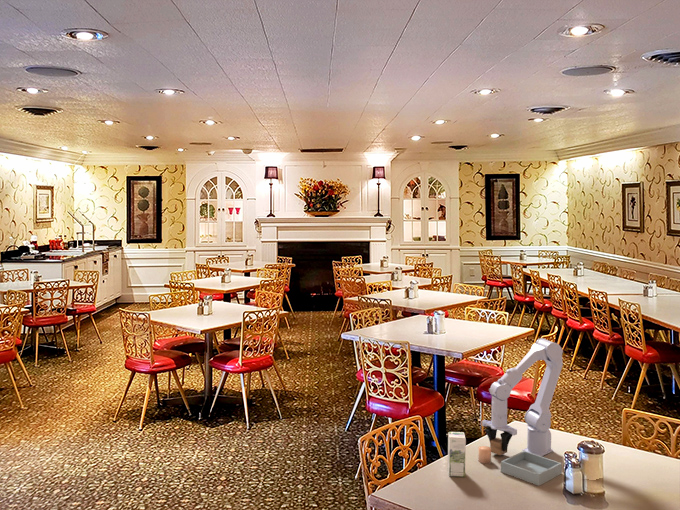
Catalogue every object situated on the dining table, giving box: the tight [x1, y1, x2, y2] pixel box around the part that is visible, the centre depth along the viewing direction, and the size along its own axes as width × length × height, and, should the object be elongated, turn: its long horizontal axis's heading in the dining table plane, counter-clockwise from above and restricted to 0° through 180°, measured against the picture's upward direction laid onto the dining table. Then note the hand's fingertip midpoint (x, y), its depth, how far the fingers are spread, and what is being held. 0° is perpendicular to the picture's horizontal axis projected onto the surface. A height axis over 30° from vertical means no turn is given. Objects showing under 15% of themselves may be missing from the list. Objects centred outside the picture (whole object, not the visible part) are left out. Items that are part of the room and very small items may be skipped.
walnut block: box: [489, 436, 508, 456], centre depth 232 cm, size 5×5×5 cm
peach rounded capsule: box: [478, 445, 492, 465], centre depth 226 cm, size 5×5×5 cm
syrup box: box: [447, 431, 467, 478], centre depth 215 cm, size 6×6×14 cm
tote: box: [500, 450, 563, 487], centre depth 216 cm, size 15×15×4 cm
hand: (498, 448), depth 232 cm, fingers closed on walnut block, 5 cm apart
